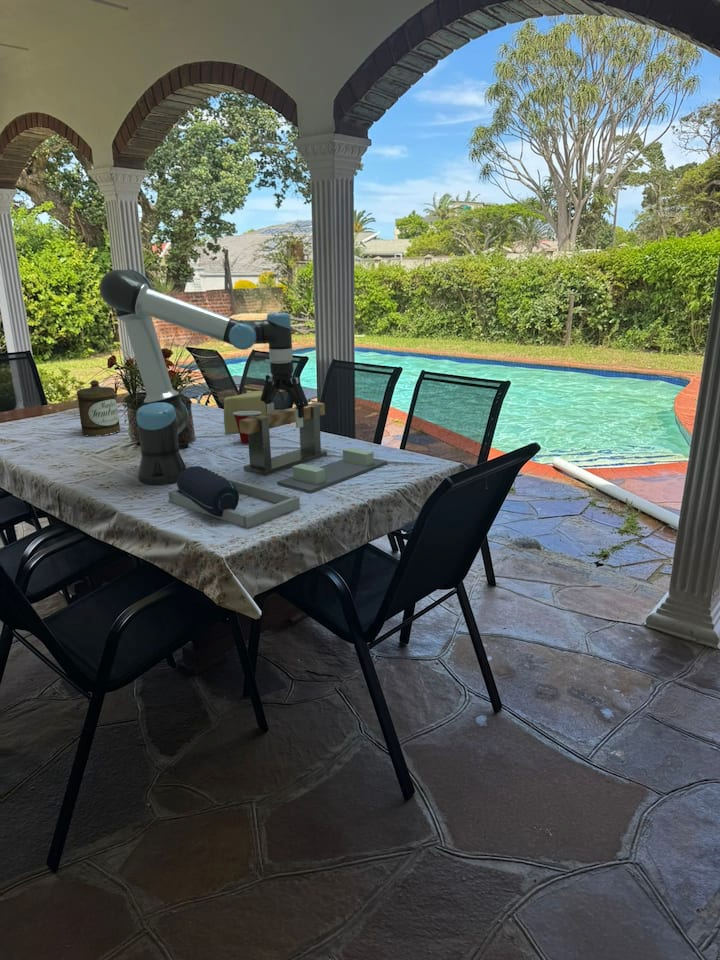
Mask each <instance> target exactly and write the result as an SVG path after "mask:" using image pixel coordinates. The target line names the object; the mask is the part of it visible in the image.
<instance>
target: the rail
mask: <svg viewBox="0 0 720 960" xmlns="http://www.w3.org/2000/svg"><path fill="white" fill-rule="evenodd" d="M313 406H319V413H320V417H321V416H324V415H326V413H325V411H326V410H325V409H326V407H325V406H326V405H325V403H324V402H317V401H315V402H311V403H308V406H306V407H304V417H303V420H306V419H309V418H311V407H313ZM295 408H296V406H294V407H291V408H287V409H286V408H285V409H282V410H276V411H274V412H272V413H268V414H264V415H259V416H255V417H251V418H246V419H242V420H239V426H240V433H245V434H251V433H255V432H259V431H260V426H259V419H263V418H269V430H270V429H273V428H277V427H281V426H286V425H289V424H293V423H296V418H295Z"/></svg>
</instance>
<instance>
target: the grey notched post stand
mask: <svg viewBox="0 0 720 960" xmlns="http://www.w3.org/2000/svg"><path fill="white" fill-rule="evenodd" d="M251 417H255V416H249V417H247V418H251ZM320 419H321V416H320V413H319V406H313V407H311V418H309V419H306V420H303V427H300V428H299V447H300V448H299V449H296V450H293V451H290V452H289V451H288V452H285V453H283V454H280V455H279V454H278V455H277V456H272V453H271V452H272V451H271V437H270V429H269V418H263V419H259V426H260V431H259V432H255V433H251V434H248V444H247V445H248V456H249V457H248V458H249V464H246V465H244V466H243V471H245V472H249V473H253V474H257V475H261V476H264V477H265V476H268V475H272V474H275V473H277V472H278V473H279V472H281V471H283V470H286V469H290V468H293V466H296V465H299V464H305V463H308V462H311V461H313V459H314V460H316V458H317V459H320V458H319V457H321V458H323V457H322V456H324V457H326V456H325V455H327V456H328V454H327V451H326V450H322V448H321V447H322V445H321V444H322V443H321V442H322V441H321V420H320ZM310 460H311V461H310Z"/></svg>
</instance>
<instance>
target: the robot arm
mask: <svg viewBox="0 0 720 960" xmlns="http://www.w3.org/2000/svg"><path fill="white" fill-rule="evenodd" d="M99 293H100V296H101V298H102V300H103V301H104V303H106V304H107V305H108V306H109V307H111V308H113V309H114V310H115V314H116V317H117V319H119V320H120V321H123V323H124V326H125V329H126V333H127V336H128V338H129V339H128V340H129V343H130V345H131V349H132V352H133V356H134V359H135V362H136V364H137V368H138V371H139V374H140V378H141V381H142V384H143V387H144V390H145V395H146V396H145V398H144V400H143V404H144V405H142V406H140V407H139V408H138V409H137V410H136V417H135V418H136V424H137V431H138V440H139V444H140V445H139V447H140V453H141V458H140V461H139V468H138V472H137V475H138V481H139V482H140V483H141V484H145V485H168V484H172V483H173V484H174V483H177V479H178V476H179V474H180V473H181V472H182V471H183V470H184V469H185V468H187V466H186V465H185V462H184V460H183V458H182V455H181V453H180V445H179V434H180V433H182V432H183V431H184V429H185V428H186V426H187V424H188V420H189V411H188V409H187V407H186V405H185V404H184V403H183V401H182V398H181V397H180V393H179V391H177V390H175V389H174V388H173V385H172V382H171V378H170V375H169V371H168V369H167V365H166V362H165V358H164V355H163V351H162V348H161V344H160V340H159V337H158V334H157V330H156V328H155V325H154V321H153V318H155V319H158V320H161V321H164V322H166V323H169V324H171V325H175V326H178V327H180V328H184V329H187V330H189V331H193V332H196V333H198V334H202V335H204V336H207V337H210V338H213V339H215V340H219V341H222V342H224V343H226V344H228V345H232V346H233V347H234V348H236V349H238V350H241V351H242V350H243V351H244V350H248V349H250V348H252V347H253V346H254V345H260V344H261V345H262V344H268V348H269V349H268V352H269V353H268V355H269V361H270V363H269V366H270V367H269V369H270V374H266V375H265V381H264V385H263V389H262V391H263V392H262V396H261V401H264V402H265V404H266V412H267V414H268V413H272V412H275V403H274V399H275V397H276V396H277V393H278V392H279V391H280V390H281V391H285V392H286V393H287V394H288V395H289V397H290V399H291V400H292V402H293V404H294V405H295V407H296V408H295V418H296V422H295V428H296V429H300V427H303V417H304V407H306V406H308V404H309V402H308V399H307V397H306V395H305V392H304V390H303V386H302V384H301V379H300V377H299V376H297V377H293V373H294V362H293V357H294V356H293V342H292V341H293V340H292V337H293V336H292V325H291V323H292V322H291V316H290V315H289V313H287V312H272V313H271V312H270V313H268V314H267V315H266V319H260V320H259V319H257V320H256V319H255V320H254V319H253V320H252V319H250V320H249V319H248V320H244V319H243V320H242V319H240V320H239V319H235V318H232V317H229V316H226V315H225V314H221V313H218V312H216V311H212V310H210V309H207V308H204V307H202V306H199V305H196V304H193V303H191V302H188V301H186V300H182V299H180V298H177V297H173V296H171V295H168V294H165V293H162V292H160V291H157V290H154V289H152V284H151V282H150V280H149V279H148V278H147V276H145V275H144V274H142V273H141V272H139V271H137V270H134V269H129V268H128V269H113V270H110V271H108V272H107V273H105V274H104V275H103V277H102V278H101V280H100V282H99ZM271 402H272V403H271Z"/></svg>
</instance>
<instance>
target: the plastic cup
mask: <svg viewBox="0 0 720 960" xmlns="http://www.w3.org/2000/svg"><path fill="white" fill-rule="evenodd" d="M260 414H261V412H260V411H239V412H234V413H233V415H234V416H235V419H236V423H237V427H238V431H239V432H238V435H239V437H240V441H241V443H242V444H245V443H248V434H245V433H240V426H239V420H242V419H246V418H247V417H249V416H259V415H260Z"/></svg>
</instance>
